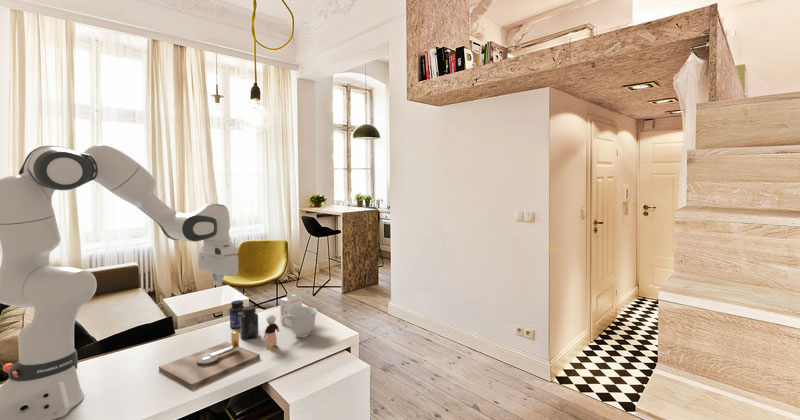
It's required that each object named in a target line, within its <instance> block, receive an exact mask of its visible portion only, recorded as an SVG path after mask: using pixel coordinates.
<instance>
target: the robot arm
mask: <svg viewBox="0 0 800 420" xmlns="http://www.w3.org/2000/svg"><path fill="white" fill-rule="evenodd" d="M92 181H93V182H95V183H97V184H99V185H100V186H102V187H103V188H105V189H106V190H108V191H109V192H110V193H111V194H112V195H113V194H114V195H115V196H116V197H119V198H120V199H122V200H123V201H126V202H127V203H129V204H131V205H133V206H134V207H136V208H137V209H139V210H140V211H142V212H143V213H144V214H145V215H146V216H148V217H149V218H150V219H152V221H153V222H156V224H157V225H158V226H159V227H160V230H161V232H162V233H163V234H164V236H165V237H166V238H168V239H170V240H172V241H182V242H183V241H184V242H190V243H191V242H193V243H194V242H195V243H196V242H201V241H202V244H203V245H202V247H201V248H200V251H199V254H198V260H197V263H198V264H197V268H198V270H200V271H203V272H207V273H210V276H211V278H212V284H213V285H214V286H219V287H220V286H222V285H223V281H224V277H234V276H237V275H238V273H239V257H238V254H239V247H237V245H235V244H233V243H232V242H231V236H230V229H231V223H230V220H231V219H230V218H231V217H230V213H229V212H230V211H229V209H228V207H227V206H226V205H224V204H219V203H211V202H210V203H205V204H204V205H203V206H202V207H200V208H199V209H197V210H195V211H192V212H191V213H189V212H188V213H187V212H186V213H185V212H181V211H176V210H174V209H172V208H171V207H170V206H169V205H167V204H166V203H165V202H163V201H162V200H161V199H160V198H159V197H157V196H156V194H155V190H156V186H157V185H156V179H155V178H154V176H153V175H152V174H151V173H150V172H149V171H148V170H147V169H146V168H145V167H144V166H143V165H142V164H140V163H139V162H137V161H136V160H135V159H134V158H132V157H131V156H129V155H127V154H126V153H124V152H123V151H121V150H119V149H118V148H116V147H114V146H112V145H110V144H107V143H97V144H94V145H92V146H90V147H88V148H87V149H86V150H85V151H82V152H79V151H75V150H72V149H69V148H66V147H63V146H58V145H44V146H43V145H42V146H39V147H37V148H35V149H33V150H31V151H30V152H29V153H28V155H27V156H26V157H25V159H24V161H23V164H22V166H21V167H20V169H19V172H18V174H15V175H9V176H6V177H2V178H0V247H1V250H2V251H1V253H2V256H1V257H2V258H1V264H0V304H3V305H6V306H8V307H9V306H10V307H14V308H17V307H18V308H33V309H34V314H33V318H32V320H31V322H30V323H28V324H27V325H25V326H24V327H23V328H22V329H21V330H20V331H19V332H18V335H17V341H18V361H17V362H16V363H15V364H14V363H11V362H9V363H6V364H4V365H3V366H2V370H3V371H4V372H5V373H7V374H8V379H7V380H6V381H5V382H3V383H2V384H1V385H0V420H56V419H58V418H59V419H60V418H63V417H64V416H66V415H67V414H68V413H69V412H70V411H71V410H72V409H73V408H74V407H76V406H77V405H78V404H80V403H81V402H82V401H83V399H84V398H85V394H84V391H83V389H82V387H81V384H80V381H79V377H78V372H77V369H78V362H79V361H78V353H77V349H76V348H75V322H76V319H77V316H78V314H79V312H80V310H81V308H82V307H83V306H85V304H87V303H88V302H89V301H90V300H91V299H92V298H93V297H94V295H95V293H96V291H97V287H98V286H97V285H98V283H97V279H96V276H95V275H94V274H93V272H91V271H90V270H85V269H82V268H78V267H75V266H74V267H73V266H52V265H51V264H50V255H51V252H53V251H54V250H55V249H56V248H57V247H58V246H60V243H61V236H60V231H59V227H58V224H57V220H56V214H55V211H54V206H53V205H52V204H53V203H52V201H53V200H52V198H53V194H54V193H55V191H70V190H74V189H77V188H79V187H81V186H84V185H85V184H87V183H90V182H92Z"/></svg>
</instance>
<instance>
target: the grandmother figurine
mask: <svg viewBox="0 0 800 420" xmlns="http://www.w3.org/2000/svg"><path fill="white" fill-rule="evenodd" d="M266 322H267V324H268V325H267V326H266V328H265V331H264V335H263V338H264V339H266V342H265V343H266V344H265V345H266V351H267V350H268V351H269V350H270V351H271V350H274V349H275V348H278V345H277V344H278V342H277V341H278V340H277V334H276V332H278V333H279V332H280V329H279V326H278V324H276V323H275V322H276V316H275V315H274V314H270V315H267V316H266Z"/></svg>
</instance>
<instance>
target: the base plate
mask: <svg viewBox="0 0 800 420" xmlns="http://www.w3.org/2000/svg"><path fill="white" fill-rule="evenodd" d="M230 346H232V342H229V341H224V342H222V343H219V344H217V345H214V346H212V347H208V348H206V349H203V350H200V351H198V352H195V353H192V354H190V355H187V356H185V357H182V358H179V359H176V360H174V361H171V362H168V363H165V364H163V365H159V366H158V371H159V372H160V373H162V374H163V375H165V376H166V377H169V378H171V379H172V380H175V381H176V382H178V383H180V384H181V385H184V386H185V387H187V388H188V389H190V390H193V389H195V388H197V387H200V386H202V385H204V384H206V383H209V382H211V381H213V380H215V379H218V378H220V377H222V376H224V375H227V374H229V373H231V372H234V371H235V370H238V369H240V368H242V367H244V366H247V365H249V364H251V363H254V362H255V361H259V360H260V359H261V354H260V353H258V352H254V351H252V350H249V349H246V348H243V347H242V346H239V348H237V349H235V350H232V351H230V352H227V353H224V354H222V355H219V360H217V361H216V362H214V363H211V364H205V365H201V364H197V363H196V358H197V357H198V356H200V355H202V354H205V353H210V352H217V351H219V350H222V349H225V348H227V347H230Z"/></svg>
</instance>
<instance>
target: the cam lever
mask: <svg viewBox="0 0 800 420" xmlns="http://www.w3.org/2000/svg"><path fill="white" fill-rule="evenodd" d="M239 333H240V331H239V330H235V331H231V339H230V340H231V344H232V346H230V347H227V348H225V349H222V350H219V351H217V352H210V353H205V354H202V355H200V356H198V357H197V358H196V363H197V364H201V365H205V364H211V363H214V362H216V361H217V360H219V355H222V354H224V353H227V352H230V351H232V350H235V349H237V348H239V347H240V341H239V340H240V336H239V335H240V334H239Z"/></svg>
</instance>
